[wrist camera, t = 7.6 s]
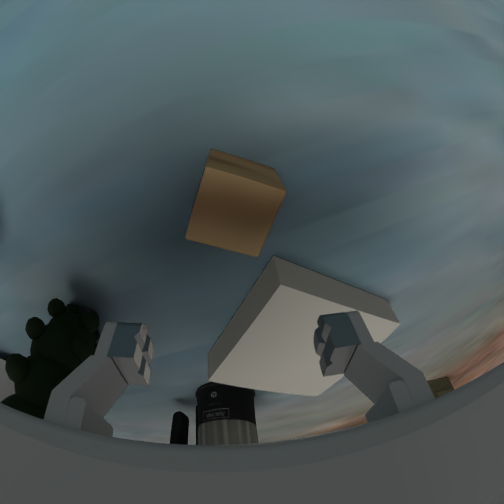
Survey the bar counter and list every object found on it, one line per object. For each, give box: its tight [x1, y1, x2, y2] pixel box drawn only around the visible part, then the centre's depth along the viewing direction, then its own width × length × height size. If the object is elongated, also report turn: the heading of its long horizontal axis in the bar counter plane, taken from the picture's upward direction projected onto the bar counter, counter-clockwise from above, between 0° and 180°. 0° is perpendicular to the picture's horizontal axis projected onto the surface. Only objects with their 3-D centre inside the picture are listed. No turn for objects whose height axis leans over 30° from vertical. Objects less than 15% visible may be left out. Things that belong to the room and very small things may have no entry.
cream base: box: [208, 256, 400, 396], centre depth 29 cm, size 16×16×4 cm
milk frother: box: [170, 382, 258, 445], centre depth 35 cm, size 14×16×15 cm
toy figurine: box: [0, 298, 100, 420], centre depth 18 cm, size 9×19×25 cm, turn 154°
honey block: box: [185, 149, 287, 257], centre depth 19 cm, size 5×5×5 cm
